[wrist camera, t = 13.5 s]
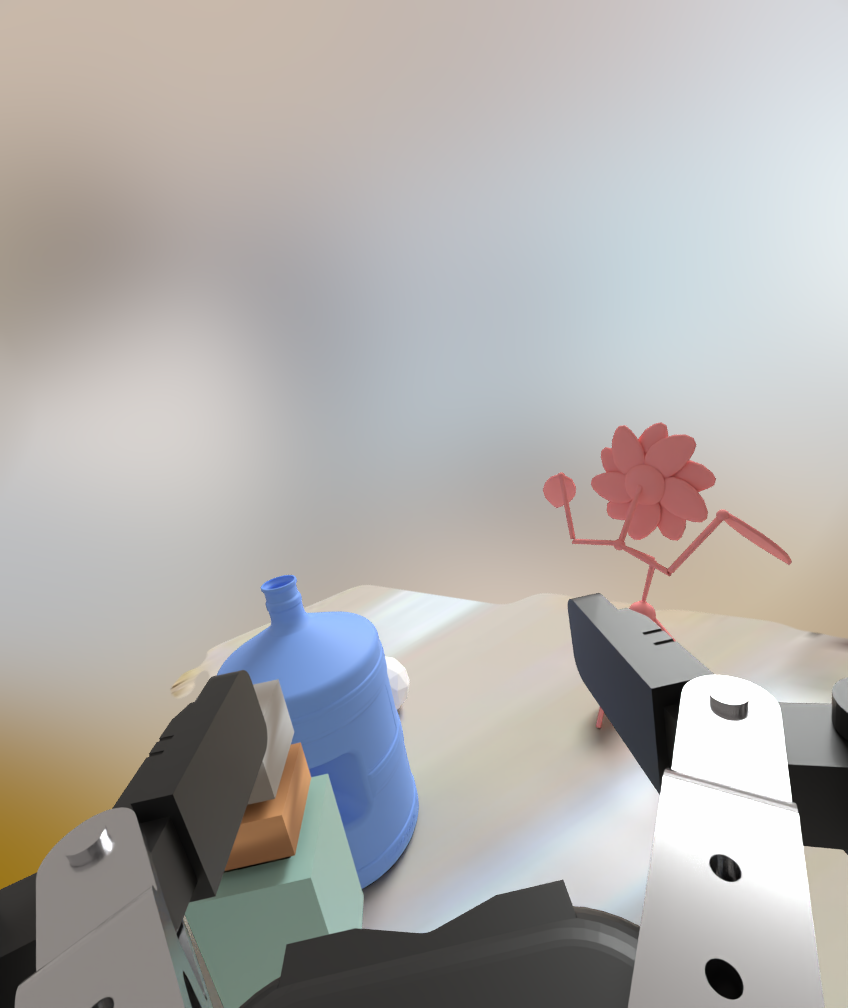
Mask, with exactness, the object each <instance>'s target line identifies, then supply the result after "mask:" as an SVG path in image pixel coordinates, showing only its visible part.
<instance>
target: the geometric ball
mask: <svg viewBox="0 0 848 1008" xmlns="http://www.w3.org/2000/svg"><path fill="white" fill-rule="evenodd" d="M385 659H386V664H387V674H388V678H389V682H390V686H391V690H392V695H393V699H394V703H395V707H396V710H398V709H399V708H400V706H401V705H402V704H403V703H404V701H405V700H406V699H407V696H408V690H409V684H410V681H409V678H408V675H407V672H406V669H405V668H404V667H403V666H402V665H401V664H400V663H399V662H398V661H397V660H396V659H395V658H390V657H385Z"/></svg>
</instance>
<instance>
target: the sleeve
mask: <svg viewBox="0 0 848 1008" xmlns="http://www.w3.org/2000/svg"><path fill="white" fill-rule="evenodd" d="M363 898H364V896H363V892H362V889H361V885H360V882H359V878H358V875H357V871H356V868H355V865H354V861H353V858H352V854H351V851H350V847H349V844H348V841H347V837H346V834H345V830H344V827H343V823H342V820H341V816H340V813H339V810H338V806H337V803H336V799H335V796H334V792H333V789H332V786H331V782H330V779H329V775H328V774H324V775H319V776H315V777H311V781H310V786H309V791H308V796H307V800H306V805H305V810H304V815H303V820H302V824H301V829H300V834H299V839H298V844H297V848H296V853H295V855H294V856H291V858H288V859H284V860H279V861H275V862H270V863H266V864H261V865H257V866H252V867H248V868H244V869H239V870H237V868H236V869H232V870H227V871H224V873H223V876H222V879H221V882H220V885H219V888H218V891H217V894H216V896H215V897H211V898H207V899H202V900H198V901H194V902H189V904H188V907H187V910H186V912H185V916H186V919H187V921H188V923H189V926H190V928H191V930H192V933H193V935H194V938H195V940H196V942H197V945H198V947H199V950H200V952H201V954H202V957H203V959H204V962H205V964H206V966H207V969H208V971H209V973H210V976H211V978H212V981H213V983H214V985H215V988H216V990H217V993H218V995H219V997H220V1000H221V1002H222V1005H223V1007H224V1008H239V1007H240V1006H241V1005H242V1004H243V1003H245V1002H246V1001H247V1000H248V999H249V998H250V997H252V996H253V995H254V994H255V993H256V992H258V991H259V990H261V989H262V988H263V987H265V986H266V985H268V984H269V983H271V982H272V981H273V980H275V979H277V978H279V977H280V976H281V971H282V965H283V960H284V955H285V950H286V944H290V943H294V942H298V941H303V940H307V939H311V938H316V937H320V936H324V935H328V934H333V933H337V932H341V931H346V930H350V929H354V928H358V929H362V917H363Z"/></svg>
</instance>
